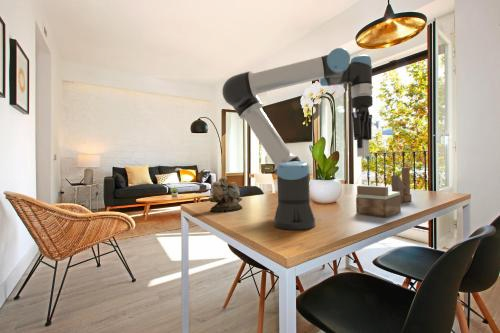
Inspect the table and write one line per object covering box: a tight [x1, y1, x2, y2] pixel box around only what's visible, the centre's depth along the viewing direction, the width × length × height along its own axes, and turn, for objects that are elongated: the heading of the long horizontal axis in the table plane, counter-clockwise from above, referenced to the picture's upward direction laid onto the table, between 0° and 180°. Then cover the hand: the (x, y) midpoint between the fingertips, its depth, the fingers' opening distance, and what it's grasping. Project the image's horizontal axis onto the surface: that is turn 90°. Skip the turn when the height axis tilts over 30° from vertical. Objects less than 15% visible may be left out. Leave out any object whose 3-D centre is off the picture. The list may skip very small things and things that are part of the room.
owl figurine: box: [208, 176, 243, 214], centre depth 129 cm, size 18×12×17 cm, turn 121°
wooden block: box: [390, 167, 412, 204], centre depth 134 cm, size 4×11×18 cm, turn 114°
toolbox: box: [355, 195, 402, 218], centre depth 110 cm, size 12×17×7 cm
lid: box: [355, 185, 400, 200], centre depth 110 cm, size 12×17×5 cm
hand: (363, 156), depth 100 cm, fingers open, 3 cm apart
